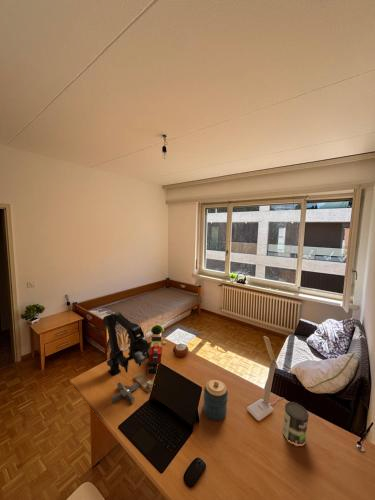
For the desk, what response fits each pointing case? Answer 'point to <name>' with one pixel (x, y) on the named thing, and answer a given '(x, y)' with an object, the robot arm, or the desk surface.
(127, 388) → the capstan
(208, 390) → the canister
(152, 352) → the toy soldier
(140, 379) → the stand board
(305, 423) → the coffee can
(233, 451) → the desk surface
